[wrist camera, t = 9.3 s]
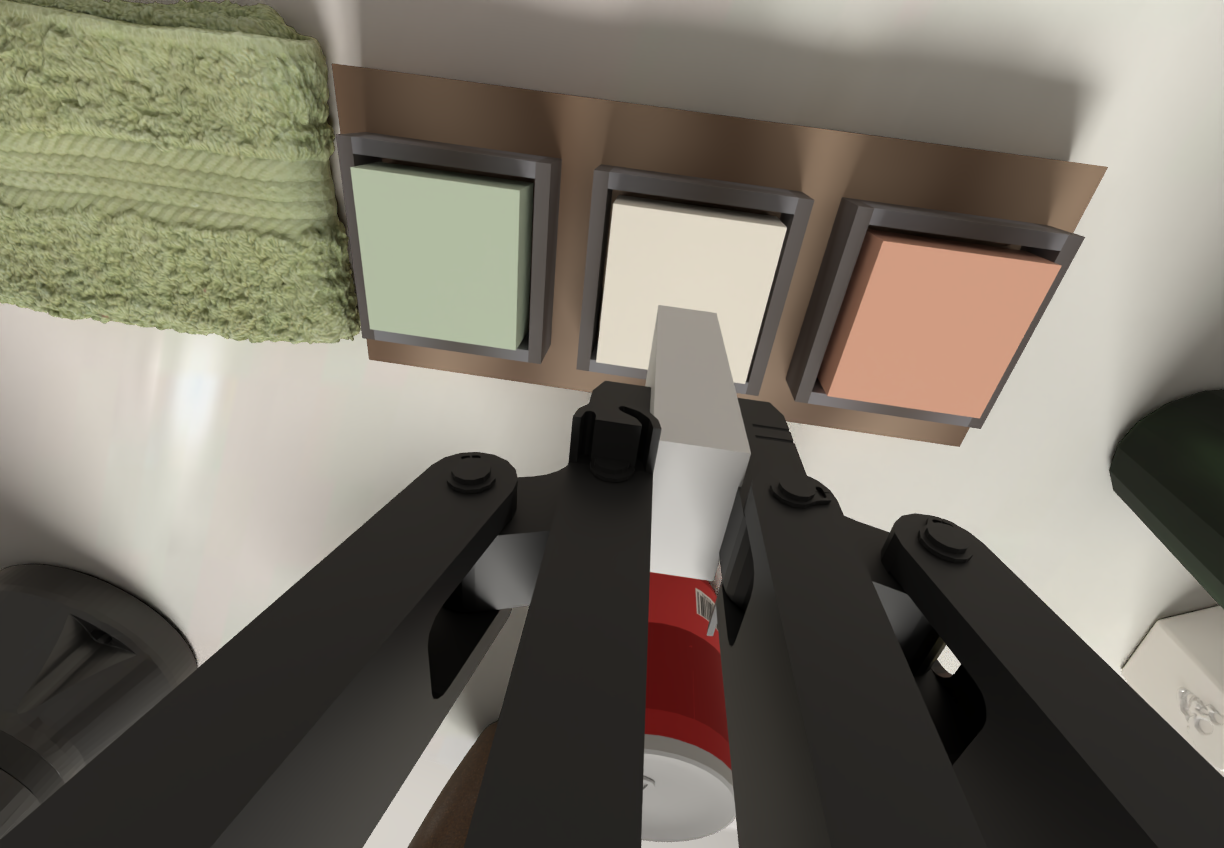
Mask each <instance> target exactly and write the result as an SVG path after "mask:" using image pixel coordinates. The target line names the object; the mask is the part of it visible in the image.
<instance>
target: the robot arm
mask: <svg viewBox="0 0 1224 848" xmlns="http://www.w3.org/2000/svg"><path fill="white" fill-rule="evenodd" d="M719 560H720V564H721V573H722V582H721V585H720V588H719V591H718V595H717V598H716V601H715V604H714V608H713V611H712V614H711V617H710V621H709V624H708V629H707V636H713V634H714V631H715V628H716V625H717V624H718V633H719V644H720V654H721V665H722V675H723V686H724V696H725V707H726V717H727V727H728V738H729V748H730V759H731V769H732V780H733V790H734V801H735V811H736V821H737V832H738V842H739V848H1224V777H1223V776H1222V775H1221V774H1220V773H1219V772H1218V771H1217V770H1216V769H1215V768H1214V767H1213V766H1212V765H1211V764H1210V763H1209V762H1208V761H1207V760H1206V759H1205V758H1204V757H1203V756H1201V755H1200V754H1199V753H1198V752H1197V751H1196V750H1195V749H1194V748H1193V747H1192V746H1191V745H1190V744H1189V743H1188V742H1187V741H1186V740H1185V739H1184V738H1183V737H1182V736H1181V735H1180V734H1179V733H1178V732H1177V731H1176V730H1175V729H1174V728H1173V727H1172V726H1171V725H1170V724H1169V723H1168V722H1167V721H1165V720H1164V719H1163V718H1162V717H1161V716H1160V715H1159V714H1158V713H1157V712H1156V711H1155V710H1154V709H1153V708H1152V707H1151V706H1150V705H1149V704H1148V703H1147V702H1146V701H1145V700H1144V699H1143V698H1142V697H1141V696H1140V695H1139V694H1138V693H1137V692H1136V691H1135V690H1134V689H1133V688H1132V687H1131V686H1129V685H1128V684H1127V683H1126V682H1125V681H1124V680H1123V679H1122V678H1121V677H1120V676H1119V675H1118V674H1117V673H1116V672H1115V671H1114V670H1113V669H1112V668H1111V667H1110V666H1109V665H1108V664H1107V663H1106V662H1105V661H1104V660H1103V659H1102V658H1101V657H1100V656H1099V655H1098V654H1097V653H1096V652H1095V651H1093V650H1092V649H1091V648H1090V647H1089V646H1088V645H1087V644H1086V643H1085V642H1084V641H1083V640H1082V639H1081V638H1080V637H1079V636H1078V635H1077V634H1076V633H1075V632H1074V631H1073V630H1072V629H1071V628H1070V627H1069V626H1068V625H1067V624H1066V623H1065V622H1064V621H1063V620H1062V619H1061V618H1060V617H1059V616H1057V615H1056V614H1055V613H1054V612H1053V611H1052V610H1051V609H1050V608H1049V607H1048V606H1047V605H1046V604H1045V603H1044V602H1043V601H1042V600H1041V599H1040V598H1039V597H1038V596H1037V595H1036V594H1035V593H1034V592H1033V591H1032V590H1031V589H1030V588H1029V587H1028V586H1027V585H1026V584H1025V583H1024V582H1023V581H1021V580H1020V579H1019V578H1018V577H1017V576H1016V575H1015V574H1014V573H1013V572H1012V571H1011V570H1010V569H1009V568H1008V567H1007V566H1006V565H1005V564H1004V563H1003V562H1002V561H1001V560H1000V559H999V558H998V557H997V556H996V555H995V554H994V553H993V552H992V551H991V550H990V549H989V548H988V547H987V546H985V545H984V544H983V543H982V542H981V541H980V540H978V539H977V538H976V537H975V536H973V535H972V534H971V533H969V532H968V531H966V530H965V529H963V528H961V527H959V526H957V525H955V524H954V523H953V522H950V521H948V520H945V519H941V518H939V517H935V516H931V515H923V514H909V515H904V516H901V517H900V518H899V519H898V520H897V521H896V522H895V523H894V525H893V527H892V529H891V531H890V533H889V532H887V531H884V530H881V529H878V528H875V527H872V526H869V525H866V524H863V523H861V522H858V521H855V520H853V519H851V518H848V517H846V516H844V515H843V512H842V510H841V508H840V506H839V503H838V501H837V499H836V498H835V497H834V495H833V494H832V492H831V491H830V490H829V489H828V488H827V487H825V486H824V485H823V484H821V483H820V482H819V481H817V480H815V479H813V478H811V477H809V476H807V475H806V472H805V470H804V467H803V464H802V462H801V459H800V457H799V454H798V451H797V449H796V446H795V443H793V438H792V436H791V433H790V432H789V428H788V425H787V423H786V420H785V417H784V415H783V414H782V413H781V412H779V411H778V410H777V409H776V408H775V407H774V406H773V405H772V404H771V403H770V402H764V401H757V400H750V399H743V398H737V394H736V390H735V386H734V382H733V378H732V374H731V370H730V366H729V362H728V358H727V354H726V349H725V345H724V341H723V337H722V333H721V329H720V325H719V321H718V317H717V313H713V312H706V311H699V310H691V309H684V308H677V307H670V306H663V305H658V311H657V317H656V323H655V329H654V335H653V341H652V347H651V354H650V360H649V366H648V372H647V378H646V384H645V386H640V385H633V384H626V383H618V382H611V381H604V382H603V383H601V384H600V385H599V386H597V387H596V388H595V389H593V391H592V395H591V399H590V402H589V404H587V405H585V406H583V407H581V408H579V409H578V410H577V411H576V413H575V414H574V415H573V421H572V432H571V443H570V454H569V463H568V465H567V466H566V467H565V468H563V469H561V470H559V471H557V472H554V473H551V474H547V475H541V476H534V477H519V478H517V474H516V470H515V468H514V467H513V466H512V465H511V464H510V463H509V462H508V461H506V460H504V459H502V458H500V457H498V456H496V455H492V454H486V453H480V452H468V453H459V454H455V455H452V456H448V457H445V458H443V459H441V460H440V461H438V462H436V463H435V464H433V465H431V466H430V467H429V468H428V469H427V470H426V471H425V472H423V473H422V474H421V475H420V476H419V477H418V478H416V479H415V480H414V481H413V482H412V483H411V484H410V485H408V486H407V487H406V488H405V489H404V490H403V491H401V492H400V493H399V494H398V495H397V496H396V497H395V498H393V499H392V500H391V501H390V502H389V503H388V504H386V505H385V506H384V507H383V508H382V509H381V510H380V511H378V512H377V513H376V514H375V515H374V516H373V517H372V518H370V519H369V520H368V521H367V522H366V523H365V524H363V525H362V526H361V527H360V528H359V529H358V530H357V531H355V532H354V533H353V534H352V535H351V536H350V537H348V538H347V539H346V540H345V541H344V542H343V543H342V544H340V545H339V546H338V547H337V548H336V549H335V550H334V551H332V552H331V553H330V554H329V555H328V556H327V557H325V558H324V559H323V560H322V561H321V562H320V563H319V564H317V565H316V566H315V567H314V568H313V569H312V570H310V571H309V572H308V573H307V574H306V575H305V576H304V577H302V578H301V579H300V580H299V581H298V582H297V583H295V584H294V585H293V586H292V587H291V588H290V589H289V590H287V591H286V592H285V593H284V594H283V595H282V596H281V597H279V598H278V599H277V600H276V601H275V602H274V603H272V604H271V605H270V606H269V607H268V608H267V609H266V610H264V611H263V612H262V613H261V614H260V615H259V616H257V617H256V618H255V619H254V620H253V621H252V622H251V623H249V624H248V625H247V626H246V627H245V628H244V629H243V630H241V631H240V632H239V633H238V634H237V635H236V636H234V637H233V638H232V639H231V640H230V641H229V642H228V643H226V644H225V645H224V646H223V647H222V648H221V649H219V650H218V651H217V652H216V653H215V654H214V655H213V656H211V657H210V658H209V659H208V660H207V661H206V662H204V663H203V664H202V665H201V666H200V667H199V668H198V669H197V665H196V661H195V658H194V656H193V654H192V652H191V650H190V648H189V646H188V645H187V643H186V642H185V641H184V639H183V638H182V637H181V635H180V634H179V633H178V632H177V631H176V630H175V629H174V628H173V627H172V626H171V625H170V624H169V623H168V622H167V621H166V620H165V619H164V618H163V617H161V616H160V615H159V614H158V613H156V612H155V611H154V610H153V609H151V608H150V607H148V606H147V605H146V604H144V603H143V602H141V601H139V600H138V599H136V598H135V597H133V596H131V595H130V594H128V593H126V592H124V591H122V590H121V589H119V588H117V587H115V586H113V585H110V584H108V583H106V582H104V581H101V580H99V579H97V578H94V577H91V576H89V575H86V574H83V573H80V572H76V571H73V570H69V569H65V568H60V567H55V566H48V565H38V564H25V565H16V566H11V567H8V568H5V569H3V570H1V571H0V848H362V847H363V846H364V844H365V843H366V841H367V840H368V838H369V836H370V835H371V833H372V832H373V830H374V828H375V827H376V825H377V824H378V822H379V820H380V819H381V817H382V816H383V814H384V813H385V811H386V810H387V808H388V807H389V805H390V803H391V801H392V800H393V799H394V797H395V796H396V794H397V792H398V791H399V789H400V787H401V786H402V784H403V783H404V781H405V780H406V778H407V776H408V775H409V773H410V772H411V770H412V769H413V767H414V766H415V764H416V762H417V761H418V759H419V758H420V756H421V755H422V753H423V751H424V750H425V748H426V747H427V745H428V744H429V742H430V740H431V739H432V737H433V736H434V734H435V733H436V731H437V729H438V728H439V726H440V725H441V723H442V721H443V720H444V718H445V717H446V715H447V714H448V712H449V710H450V709H451V707H452V706H453V704H454V703H455V701H456V699H457V698H458V696H459V695H460V693H461V692H462V690H463V688H464V687H465V685H466V684H467V682H468V681H469V679H470V677H471V676H472V674H473V673H474V671H475V669H476V668H477V666H478V665H479V663H480V662H481V660H482V658H483V657H484V655H485V654H486V652H487V651H488V649H489V647H490V646H491V644H492V643H493V641H494V640H495V638H496V636H497V635H498V633H499V632H500V630H501V629H502V627H503V625H504V624H505V622H506V621H507V619H508V618H509V616H510V613H511V610H512V608H514V607H522V606H529V605H530V606H529V610H528V614H527V617H526V621H525V625H524V628H523V632H522V636H521V639H520V643H519V647H518V650H517V654H516V658H515V661H514V665H513V669H512V672H511V676H510V680H509V683H508V687H507V691H506V694H505V698H504V702H503V706H502V709H501V713H500V717H499V720H498V724H497V728H496V731H495V735H494V739H493V742H492V746H491V750H490V753H489V757H488V761H487V764H486V768H485V772H484V775H483V779H482V783H481V786H480V790H479V794H478V797H477V801H476V805H475V808H474V812H473V816H472V819H471V823H470V827H469V830H468V834H467V838H466V841H465V845H464V848H641V835H642V804H643V773H644V741H645V710H646V679H647V648H648V617H649V586H650V572H654V573H661V574H668V575H674V576H681V577H688V578H695V579H701V580H708V581H714V577H715V574H716V571H717V567H718V564H719ZM946 645H947V646H948V647H949V649H950V650H951V651H952V653H953V654H954V655H955V656H956V658H957V659H958V660H959V662H960V663H961V665H960V667H959V668H958V670H957V671H956V672H955V674H953V675H952V674H950V673H948V672H947V671H946V670H945V669H944V668H943V667H942V666H941V664H940V663H939V661H938V660H937V658H938V657H939V655H940V654H941V652H942V651H943V649H944V648H945V646H946Z"/></svg>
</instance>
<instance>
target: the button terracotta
mask: <svg viewBox="0 0 1224 848" xmlns="http://www.w3.org/2000/svg"><path fill="white" fill-rule="evenodd" d="M1060 268H1061V265H1059V264H1056V263H1054V262H1052V261H1049V260H1047V259H1044V258H1042V257H1039V256H1037V255H1034V254H1032V253H1030V252H1027V251H1023V250H1016V249H1008V248H1001V247H994V246H987V245H979V244H972V243H965V242H958V241H950V240H943V239H936V238H929V237H921V236H914V235H907V234H900V233H892V232H885V231H878V230H871V229H867V231H866V234H865V237H864V240H863V243H862V246H861V249H860V252H859V255H858V258H857V261H856V264H855V267H854V269H853V272H852V275H851V278H850V281H849V284H848V287H847V290H846V293H845V296H844V299H843V302H842V305H841V307H840V310H839V313H838V316H837V319H836V322H835V325H834V328H833V331H832V334H831V337H830V340H829V343H828V345H827V348H826V351H825V354H824V357H823V360H822V363H821V366H820V369H819V372H818V375H817V378H818V380H819V381H820V383H821V385H822V387H823V389H824V391H825V393H826V395H827V396H830V397H837V398H844V399H850V400H857V401H864V402H871V403H878V404H885V405H891V406H898V407H905V408H912V409H919V410H926V411H932V412H939V413H946V414H953V415H960V416H967V417H973V418H980V417H981V415H982V413H983V411H984V410H985V408H986V406H987V404H988V402H989V400H990V398H991V397H992V395H993V393H994V391H995V389H996V387H997V385H998V384H999V382H1000V380H1001V378H1002V376H1003V374H1004V372H1005V370H1006V369H1007V367H1008V365H1009V363H1010V361H1011V359H1012V357H1013V356H1014V354H1015V352H1016V350H1017V348H1018V346H1019V344H1020V343H1021V341H1022V339H1023V337H1024V335H1025V333H1026V331H1027V330H1028V328H1029V326H1030V324H1031V322H1032V320H1033V318H1034V316H1035V315H1036V313H1037V311H1038V309H1039V307H1040V305H1041V303H1042V302H1043V300H1044V298H1045V296H1046V294H1047V292H1048V290H1049V289H1050V287H1051V285H1052V283H1053V281H1054V279H1055V277H1056V276H1057V274H1058V272H1059V270H1060Z"/></svg>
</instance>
